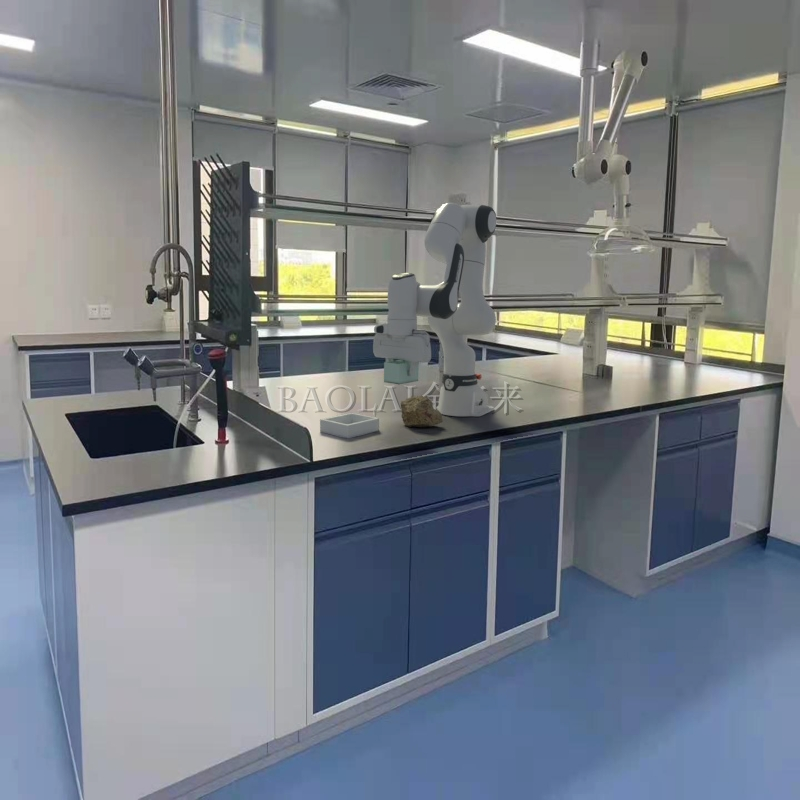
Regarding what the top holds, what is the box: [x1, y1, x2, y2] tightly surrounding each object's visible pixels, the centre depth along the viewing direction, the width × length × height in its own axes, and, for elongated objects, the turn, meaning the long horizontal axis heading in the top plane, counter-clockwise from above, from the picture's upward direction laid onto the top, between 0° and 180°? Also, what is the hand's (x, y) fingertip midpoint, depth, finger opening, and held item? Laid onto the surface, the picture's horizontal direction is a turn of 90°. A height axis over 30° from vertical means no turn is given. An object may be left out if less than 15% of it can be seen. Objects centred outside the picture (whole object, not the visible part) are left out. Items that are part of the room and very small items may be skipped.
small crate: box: [383, 359, 420, 385], centre depth 200 cm, size 9×6×6 cm, turn 140°
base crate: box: [319, 412, 380, 440], centre depth 207 cm, size 14×12×4 cm
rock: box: [400, 395, 443, 428], centre depth 217 cm, size 11×12×10 cm
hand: (401, 374), depth 200 cm, fingers closed on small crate, 6 cm apart
